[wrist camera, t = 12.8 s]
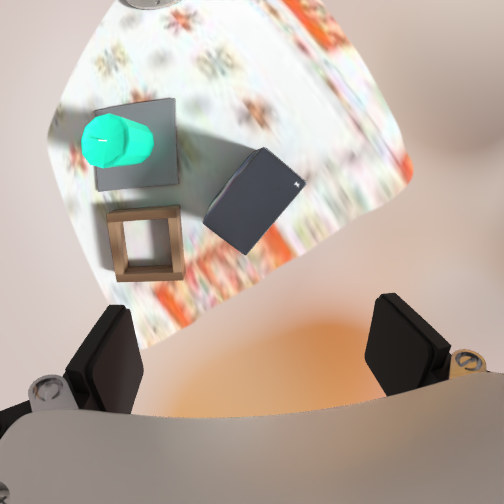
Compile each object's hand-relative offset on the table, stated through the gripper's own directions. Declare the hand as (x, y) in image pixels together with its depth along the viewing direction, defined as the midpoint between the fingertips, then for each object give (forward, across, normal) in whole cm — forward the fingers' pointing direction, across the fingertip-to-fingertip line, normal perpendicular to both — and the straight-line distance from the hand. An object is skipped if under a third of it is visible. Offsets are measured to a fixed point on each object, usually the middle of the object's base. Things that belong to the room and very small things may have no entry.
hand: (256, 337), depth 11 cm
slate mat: (+32, +14, -9) cm, 36 cm away
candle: (+32, +14, -9) cm, 36 cm away
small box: (+32, -2, -2) cm, 33 cm away
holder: (+32, +13, +5) cm, 35 cm away
